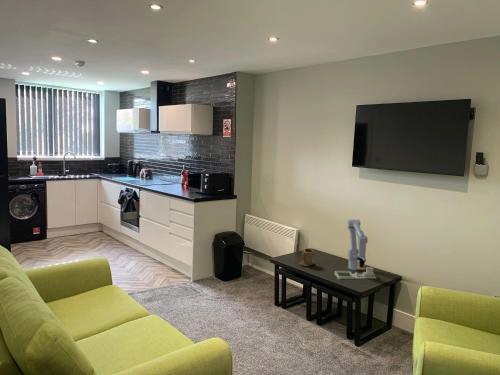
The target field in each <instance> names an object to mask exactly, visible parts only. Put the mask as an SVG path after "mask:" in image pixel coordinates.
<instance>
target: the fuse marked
mask: <svg viewBox="0 0 500 375" xmlns="http://www.w3.org/2000/svg"><path fill="white" fill-rule="evenodd" d="M365 264H366V262H365V263H364V266H363V267H360V261H359V260H358V267H357V268H358V270H365V266H366V265H365Z"/></svg>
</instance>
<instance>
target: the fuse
mask: <svg viewBox="0 0 500 375" xmlns="http://www.w3.org/2000/svg"><path fill="white" fill-rule="evenodd" d="M365 273H366V274H367V277H368V276H373V273H374V267H371V266H369V267H367V266H366V267H365Z"/></svg>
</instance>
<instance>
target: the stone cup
mask: <svg viewBox="0 0 500 375" xmlns="http://www.w3.org/2000/svg"><path fill="white" fill-rule="evenodd" d="M301 254H302V256H301V257H302V261H299V263H298V264H299V265H300V266H302V267H303V266H304V267H309V266H311V265H314V264H316V261H315V260H314V259H313V258H314V255H315V251H314V249H313V248H304V249H303V251H302V253H301Z"/></svg>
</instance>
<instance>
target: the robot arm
mask: <svg viewBox="0 0 500 375" xmlns="http://www.w3.org/2000/svg"><path fill="white" fill-rule="evenodd" d="M347 229H348V230H349V232H350V233H349V234H350V249H349V250H348V252H347V253H348V254H347V258H348V266H347V267H346V268H348V269H349V270H351V271H357V270H359V269H358V268H357V267H358V260H359V261H360V267H363V266H364V267H365V265H364V263H365V264H366V262H367V258H366V251H367V250H366V249H367V244H368V241H369V240H368V237H367V236H366V235H365V234H364V231H363V230H362V229H361V220H360V219H348V220H347ZM357 238H358V239H357ZM357 243H358V244H357ZM357 245H358V247H357Z"/></svg>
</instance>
